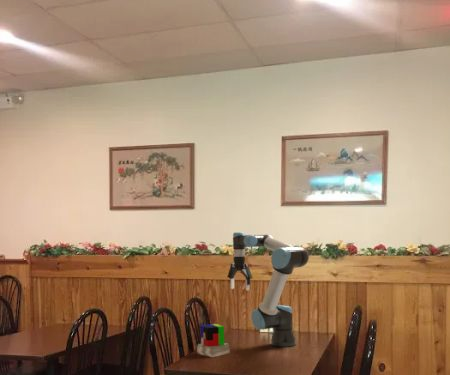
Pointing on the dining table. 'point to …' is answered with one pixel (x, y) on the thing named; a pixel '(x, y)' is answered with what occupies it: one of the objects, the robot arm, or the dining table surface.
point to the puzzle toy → (212, 335)
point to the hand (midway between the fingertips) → (240, 289)
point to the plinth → (213, 350)
